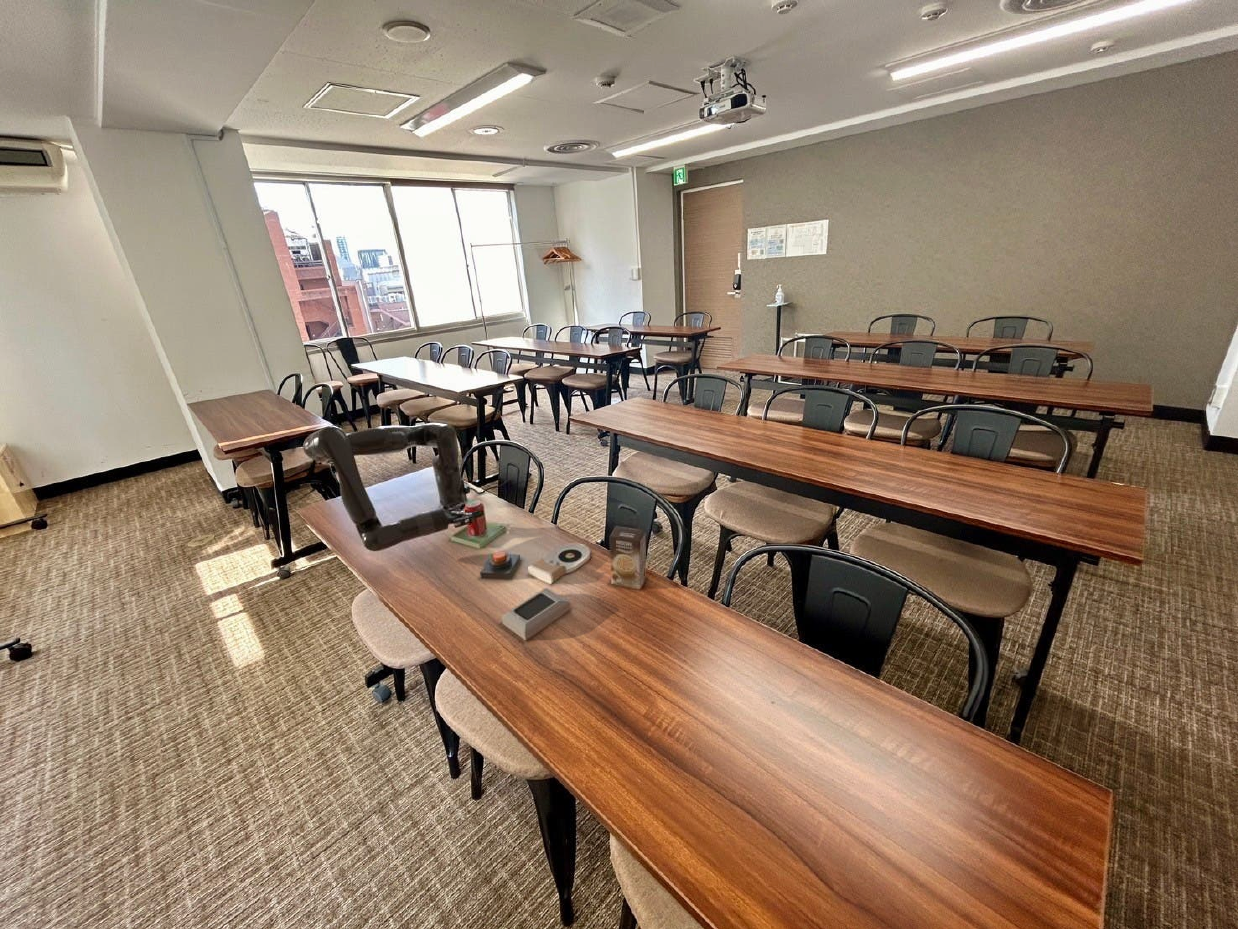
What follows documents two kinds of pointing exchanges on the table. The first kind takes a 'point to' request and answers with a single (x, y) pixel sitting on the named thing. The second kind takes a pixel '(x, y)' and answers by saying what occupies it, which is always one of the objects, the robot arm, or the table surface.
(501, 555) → the button
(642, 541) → the coffee box
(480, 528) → the beverage can
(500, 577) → the button box
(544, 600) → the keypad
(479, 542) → the tray
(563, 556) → the record player
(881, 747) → the table surface
